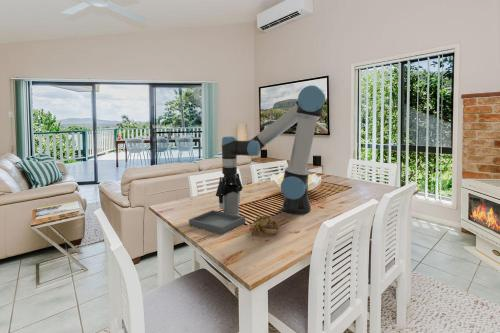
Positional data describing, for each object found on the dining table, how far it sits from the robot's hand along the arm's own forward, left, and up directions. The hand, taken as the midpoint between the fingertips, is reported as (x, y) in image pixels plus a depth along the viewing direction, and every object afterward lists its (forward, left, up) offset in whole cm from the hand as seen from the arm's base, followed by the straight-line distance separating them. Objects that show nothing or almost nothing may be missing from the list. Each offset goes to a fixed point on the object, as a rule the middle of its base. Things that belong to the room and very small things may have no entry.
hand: (230, 205), depth 158 cm
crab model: (-29, +13, -4) cm, 32 cm away
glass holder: (0, 0, -4) cm, 4 cm away
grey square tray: (-6, +18, -4) cm, 19 cm away
